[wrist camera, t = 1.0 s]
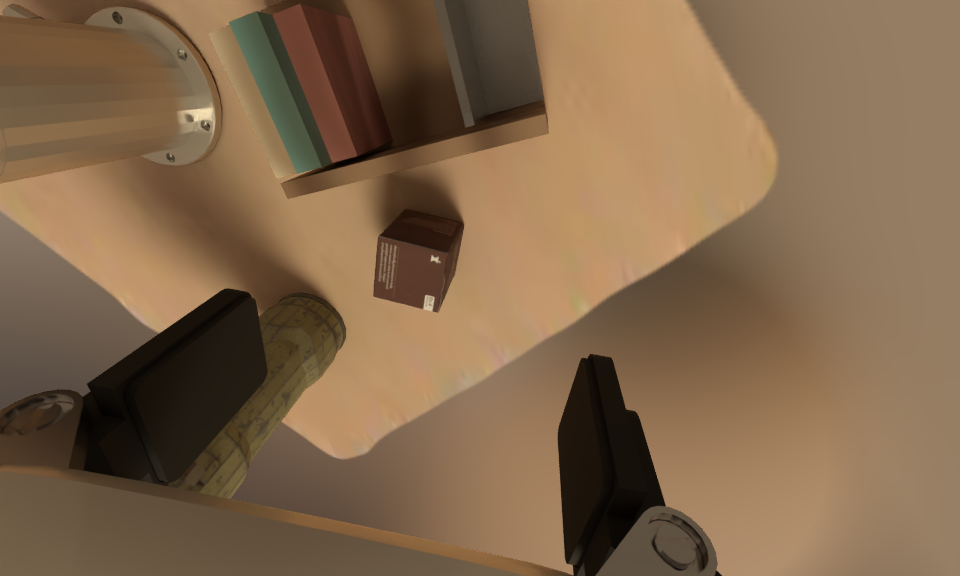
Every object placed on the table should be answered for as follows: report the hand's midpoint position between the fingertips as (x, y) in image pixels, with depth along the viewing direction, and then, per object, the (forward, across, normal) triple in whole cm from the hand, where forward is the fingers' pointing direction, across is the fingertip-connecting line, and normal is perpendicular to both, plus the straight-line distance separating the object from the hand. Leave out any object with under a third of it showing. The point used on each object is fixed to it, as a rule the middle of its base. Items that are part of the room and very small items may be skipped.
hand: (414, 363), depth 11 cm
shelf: (+27, +8, -7) cm, 29 cm away
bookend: (+26, +1, -9) cm, 28 cm away
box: (+27, +5, +8) cm, 29 cm away
